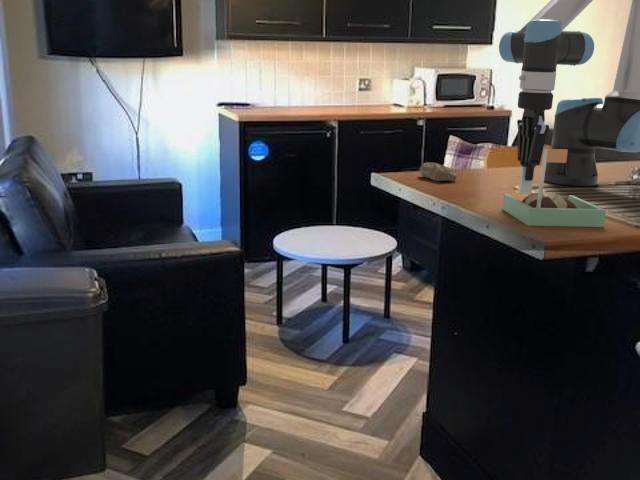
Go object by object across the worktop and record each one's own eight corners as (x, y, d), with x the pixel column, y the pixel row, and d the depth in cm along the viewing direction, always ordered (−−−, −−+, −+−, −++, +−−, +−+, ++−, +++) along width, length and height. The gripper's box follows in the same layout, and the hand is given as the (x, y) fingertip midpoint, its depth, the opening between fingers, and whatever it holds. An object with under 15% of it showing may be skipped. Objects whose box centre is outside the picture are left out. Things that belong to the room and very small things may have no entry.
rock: (439, 184, 181) (440, 168, 180) (414, 176, 190) (415, 161, 189) (461, 182, 185) (463, 166, 183) (435, 175, 194) (437, 160, 193)
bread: (513, 210, 152) (516, 188, 151) (563, 212, 152) (566, 190, 151) (530, 222, 141) (533, 199, 140) (584, 224, 142) (587, 200, 140)
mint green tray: (570, 210, 153) (580, 141, 149) (603, 227, 139) (614, 151, 135) (502, 209, 152) (510, 139, 148) (527, 225, 138) (537, 148, 133)
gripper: (510, 89, 160) (499, 187, 166) (531, 92, 148) (519, 199, 154) (540, 90, 161) (529, 188, 167) (564, 93, 148) (551, 199, 155)
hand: (524, 193), depth 161 cm, fingers closed
